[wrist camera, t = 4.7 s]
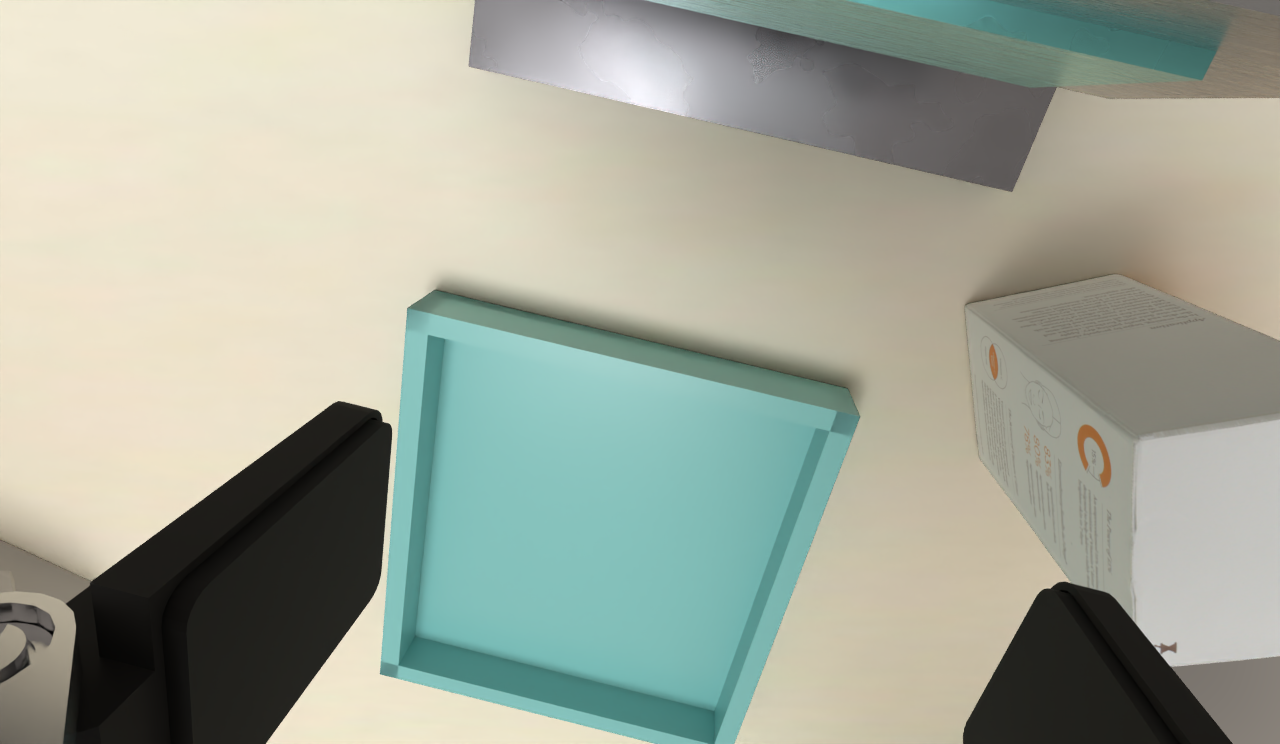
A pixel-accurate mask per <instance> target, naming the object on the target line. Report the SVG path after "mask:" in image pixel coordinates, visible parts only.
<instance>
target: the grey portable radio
mask: <svg viewBox="0 0 1280 744" xmlns="http://www.w3.org/2000/svg"><path fill="white" fill-rule="evenodd" d="M90 582H92V581H89V580H87V579H85V578H83V577H81V576H78V575H76V574H74V573H72V572H70V571H67V570H65V569H63V568H61V567H59V566H57V565H54V564H52V563H50V562H48V561H46V560H43V559H41V558H39V557H37V556H35V555H32V554H30V553H28V552H26V551H24V550H22V549H19V548H17V547H15V546H13V545H11V544H8V543H6V542H4V541H2V540H0V593H4V592H14V591H18V592H31V593H42V594H45V595H48V596H51V597H54V598H56V599H59V600H62V601H63V602H64V603H65V604H66V603H67V602H69V601H70V600H71V599H73V598H74V597H75V596H77V595H78V594H79V593H81V592H82V591H83V590H85V589H86V588H87V587H89V586H90Z"/></svg>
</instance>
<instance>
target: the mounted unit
mask: <svg viewBox="0 0 1280 744" xmlns="http://www.w3.org/2000/svg"><path fill="white" fill-rule="evenodd" d="M469 67H473V68H478V69H482V70H486V71H491V72H495V73H499V74H504V75H508V76H512V77H517V78H521V79H525V80H530V81H534V82H538V83H543V84H547V85H551V86H556V87H560V88H564V89H569V90H573V91H577V92H582V93H586V94H590V95H595V96H599V97H603V98H608V99H612V100H616V101H621V102H625V103H629V104H634V105H638V106H642V107H647V108H651V109H655V110H660V111H664V112H668V113H673V114H677V115H681V116H686V117H690V118H694V119H699V120H703V121H707V122H712V123H716V124H720V125H725V126H729V127H733V128H738V129H742V130H746V131H751V132H755V133H759V134H764V135H768V136H772V137H777V138H781V139H785V140H790V141H794V142H798V143H803V144H807V145H811V146H816V147H820V148H824V149H829V150H833V151H837V152H842V153H846V154H850V155H855V156H859V157H863V158H868V159H872V160H876V161H881V162H885V163H889V164H894V165H898V166H902V167H907V168H911V169H915V170H920V171H924V172H928V173H933V174H937V175H941V176H946V177H950V178H954V179H959V180H963V181H967V182H972V183H976V184H980V185H985V186H989V187H993V188H998V189H1002V190H1006V191H1011V192H1012V191H1013V189H1014V186H1015V184H1016V182H1017V179H1018V177H1019V175H1020V172H1021V170H1022V168H1023V165H1024V163H1025V160H1026V158H1027V156H1028V153H1029V151H1030V149H1031V146H1032V144H1033V142H1034V139H1035V137H1036V134H1037V132H1038V130H1039V127H1040V125H1041V123H1042V120H1043V118H1044V116H1045V113H1046V111H1047V108H1048V106H1049V104H1050V101H1051V99H1052V97H1053V94H1054V92H1055V90H1056V87H1059V88H1063V89H1068V90H1072V91H1076V92H1081V93H1085V94H1090V95H1094V96H1098V97H1103V98H1107V99H1152V98H1280V0H475V7H474V17H473V27H472V37H471V48H470V58H469Z"/></svg>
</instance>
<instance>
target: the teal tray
mask: <svg viewBox="0 0 1280 744" xmlns="http://www.w3.org/2000/svg"><path fill="white" fill-rule="evenodd" d="M859 418H860V415H859V413H858V410H857V408H856V406H855V404H854V401H853V399H852V397H851V395H850V392H849V390H848V388H843V387H839V386H835V385H831V384H827V383H822V382H818V381H814V380H810V379H806V378H801V377H797V376H793V375H789V374H785V373H781V372H776V371H772V370H768V369H764V368H760V367H755V366H751V365H747V364H743V363H739V362H734V361H730V360H726V359H722V358H718V357H713V356H709V355H705V354H701V353H697V352H693V351H688V350H684V349H680V348H676V347H672V346H667V345H663V344H659V343H655V342H651V341H646V340H642V339H638V338H634V337H630V336H626V335H621V334H617V333H613V332H609V331H605V330H600V329H596V328H592V327H588V326H584V325H579V324H575V323H571V322H567V321H563V320H559V319H554V318H550V317H546V316H542V315H538V314H533V313H529V312H525V311H521V310H517V309H512V308H508V307H504V306H500V305H496V304H492V303H487V302H483V301H479V300H475V299H471V298H466V297H462V296H458V295H454V294H450V293H445V292H441V291H437V290H434V291H432V292H431V293H429V294H428V295H426V296H425V297H423V298H422V299H420V300H419V301H417V302H416V303H414V304H413V305H411V306H410V307H408V308H407V320H406V334H405V347H404V360H403V374H402V387H401V400H400V414H399V427H398V441H397V454H396V467H395V481H394V494H393V508H392V521H391V534H390V548H389V561H388V575H387V588H386V601H385V615H384V628H383V641H382V655H381V668H380V674H381V675H385V676H389V677H393V678H397V679H401V680H405V681H409V682H413V683H417V684H421V685H425V686H429V687H433V688H437V689H441V690H445V691H449V692H453V693H457V694H461V695H465V696H469V697H473V698H477V699H480V700H484V701H488V702H492V703H496V704H500V705H504V706H508V707H512V708H516V709H520V710H524V711H528V712H532V713H536V714H540V715H544V716H548V717H552V718H556V719H560V720H564V721H568V722H572V723H575V724H579V725H583V726H587V727H591V728H595V729H599V730H603V731H607V732H611V733H615V734H619V735H623V736H627V737H631V738H635V739H639V740H643V741H647V742H651V743H655V744H734V743H735V740H736V738H737V735H738V733H739V730H740V727H741V725H742V722H743V720H744V717H745V714H746V712H747V709H748V707H749V704H750V701H751V699H752V696H753V694H754V691H755V688H756V686H757V683H758V681H759V678H760V675H761V673H762V670H763V668H764V665H765V662H766V660H767V657H768V655H769V652H770V649H771V647H772V644H773V642H774V639H775V637H776V634H777V631H778V629H779V626H780V624H781V621H782V618H783V616H784V613H785V611H786V608H787V605H788V603H789V600H790V598H791V595H792V592H793V590H794V587H795V585H796V582H797V579H798V577H799V574H800V572H801V569H802V566H803V564H804V561H805V559H806V556H807V553H808V551H809V548H810V546H811V543H812V540H813V538H814V535H815V533H816V530H817V527H818V525H819V522H820V520H821V517H822V514H823V512H824V509H825V507H826V504H827V502H828V499H829V496H830V494H831V491H832V489H833V486H834V483H835V481H836V478H837V476H838V473H839V470H840V468H841V465H842V463H843V460H844V457H845V455H846V452H847V450H848V447H849V444H850V442H851V439H852V437H853V434H854V431H855V429H856V426H857V424H858V421H859Z"/></svg>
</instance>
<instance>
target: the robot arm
mask: <svg viewBox="0 0 1280 744" xmlns="http://www.w3.org/2000/svg"><path fill="white" fill-rule="evenodd" d="M391 442H392V428H391V425H390V424H388V423H384V422H382V416H381V413H380V412H379V411H378V410H374V409H370V408H366V407H362V406H358V405H354V404H350V403H346V402H341V401H338V402H336V403H333V404H332V405H331V406H329V407H328V408H327V409H325V410H324V411H322V412H321V413H320V414H318V415H317V416H316V417H314V418H313V419H312V420H310V421H309V422H308V423H306V424H305V425H303V426H302V427H301V428H299V429H298V430H297V431H295V432H294V433H293V434H291V435H290V436H289V437H287V438H286V439H284V440H283V441H282V442H280V443H279V444H278V445H276V446H275V447H274V448H272V449H271V450H270V451H268V452H267V453H265V454H264V455H263V456H261V457H260V458H259V459H257V460H256V461H255V462H253V463H252V464H250V465H249V466H248V467H246V468H245V469H244V470H242V471H241V472H240V473H238V474H237V475H236V476H234V477H233V478H231V479H230V480H229V481H227V482H226V483H225V484H223V485H222V486H221V487H219V488H218V489H217V490H215V491H214V492H212V493H211V494H210V495H208V496H207V497H206V498H204V499H203V500H202V501H200V502H199V503H198V504H196V505H195V506H193V507H192V508H191V509H189V510H188V511H187V512H185V513H184V514H183V515H181V516H180V517H179V518H177V519H176V520H174V521H173V522H172V523H170V524H169V525H168V526H166V527H165V528H164V529H162V530H161V531H159V532H158V533H157V534H155V535H154V536H153V537H151V538H150V539H149V540H147V541H146V542H145V543H143V544H142V545H140V546H139V547H138V548H136V549H135V550H134V551H132V552H131V553H130V554H128V555H127V556H126V557H124V558H123V559H121V560H120V561H119V562H117V563H116V564H115V565H113V566H112V567H111V568H109V569H108V570H107V571H105V572H104V573H102V574H101V575H100V576H98V577H97V578H96V579H94V580H93V581H92V582H90V586H89V587H87V588H86V589H85V590H83V591H82V592H81V593H79V594H78V595H77V596H75V597H74V598H73V599H71V600H70V601H69V602H67V603H66V604H65V603H64V602H63V601H62V600H59V599H56V598H54V597H51V596H48V595H45V594H42V593H31V592H18V591H14V592H4V593H0V744H266V742H267V741H268V740H269V738H270V737H271V736H272V734H273V733H274V732H275V730H276V729H277V727H278V726H279V725H280V723H281V722H282V721H283V719H284V718H285V716H286V715H287V714H288V712H289V711H290V710H291V708H292V707H293V706H294V704H295V703H296V701H297V700H298V699H299V697H300V696H301V695H302V693H303V692H304V690H305V689H306V688H307V686H308V685H309V684H310V682H311V681H312V679H313V678H314V677H315V675H316V674H317V673H318V671H319V670H320V669H321V667H322V666H323V664H324V663H325V662H326V660H327V659H328V658H329V656H330V655H331V653H332V652H333V651H334V649H335V648H336V647H337V645H338V644H339V643H340V641H341V640H342V638H343V637H344V636H345V634H346V633H347V632H348V630H349V629H350V627H351V626H352V625H353V623H354V622H355V621H356V619H357V618H358V617H359V615H360V614H361V612H362V611H363V610H364V608H365V607H366V606H367V604H368V603H369V601H370V600H371V598H372V597H373V595H374V593H375V591H376V589H377V586H378V584H379V580H380V576H381V569H382V556H383V543H384V531H385V518H386V505H387V493H388V480H389V468H390V455H391ZM963 744H1232V742H1231V741H1230V740H1229V739H1228V737H1227V736H1226V735H1225V734H1224V732H1223V731H1222V730H1221V729H1220V727H1219V726H1218V725H1217V724H1216V722H1215V721H1214V720H1213V719H1212V718H1211V716H1210V715H1209V714H1208V713H1207V711H1206V710H1205V709H1204V708H1203V706H1202V705H1201V704H1200V703H1199V701H1198V700H1197V699H1196V698H1195V696H1194V695H1193V694H1192V693H1191V692H1190V690H1189V689H1188V688H1187V687H1186V685H1185V684H1184V683H1183V682H1182V680H1181V679H1180V678H1179V677H1178V675H1177V674H1176V673H1175V672H1174V671H1173V669H1172V668H1171V667H1170V666H1169V664H1168V663H1167V662H1166V661H1165V659H1164V658H1163V657H1162V656H1161V654H1160V653H1159V652H1158V651H1157V650H1156V648H1155V647H1154V646H1153V645H1152V643H1151V642H1150V641H1149V640H1148V638H1147V637H1146V636H1145V635H1144V633H1143V632H1142V631H1141V630H1140V628H1139V627H1138V626H1137V625H1136V624H1135V622H1134V621H1133V620H1132V619H1131V617H1130V616H1129V615H1128V614H1127V612H1126V611H1125V610H1124V609H1123V607H1122V606H1121V605H1120V604H1119V603H1118V601H1117V600H1116V599H1115V598H1114V597H1113V596H1112V595H1111V594H1109V593H1107V592H1104V591H1100V590H1096V589H1092V588H1088V587H1084V586H1080V585H1076V584H1072V583H1068V582H1059V583H1057V584H1056V585H1054V586H1053V587H1052V588H1051V589H1044V590H1042V591H1041V592H1040V593H1039V594H1038V595H1037V597H1036V598H1035V600H1034V602H1033V604H1032V606H1031V607H1030V609H1029V611H1028V613H1027V615H1026V616H1025V618H1024V620H1023V622H1022V624H1021V625H1020V627H1019V629H1018V631H1017V633H1016V634H1015V636H1014V638H1013V640H1012V642H1011V643H1010V645H1009V647H1008V649H1007V651H1006V652H1005V654H1004V656H1003V658H1002V660H1001V661H1000V663H999V665H998V667H997V669H996V670H995V672H994V674H993V676H992V678H991V679H990V681H989V683H988V685H987V687H986V688H985V690H984V692H983V694H982V696H981V697H980V699H979V701H978V703H977V705H976V706H975V708H974V710H973V712H972V714H971V715H970V717H969V719H968V721H967V723H966V725H965V728H964V733H963Z"/></svg>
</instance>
